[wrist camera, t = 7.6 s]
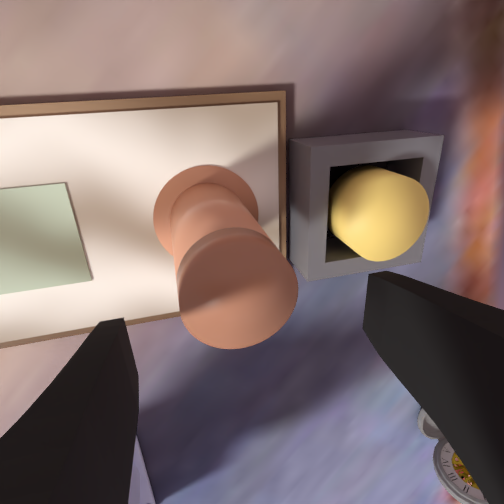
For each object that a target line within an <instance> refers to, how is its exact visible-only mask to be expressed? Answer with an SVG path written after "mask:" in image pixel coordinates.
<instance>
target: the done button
mask: <svg viewBox="0 0 504 504" xmlns="http://www.w3.org/2000/svg"><path fill="white" fill-rule="evenodd" d="M428 216H429V199H428V196H427V193H426V191H425V189H424V188H423V186H422V185H421V184H420V183H419V182H417V181H416V180H414V179H412V178H410V177H407V176H404V175H401V174H398V173H395V172H392V171H389V170H386V169H383V168H380V167H376V166H373V165H362V166H357V167H354V168H352V169H350V170H348V171H346V172H345V173H344V174H342V175H341V176H340V177H339V178H338V179H337V180H336V181H335V182H334V184H333V185H332V186H331V188H330V190H329V198H328V217H327V227H328V228H329V230H330V231H331V232H332V233H333V234H334V235H335V236H336V237H337V238H339V239H340V240H341V241H342V242H344V243H345V244H346V245H347V246H349V247H350V248H351V249H353V250H354V251H355V252H356V253H358V254H359V255H360V256H361V257H363V258H365V259H367V260H370V261H386V260H390V259H393V258H395V257H397V256H399V255H401V254H403V253H404V252H406V251H407V250H408V249H409V248H410V247H411V246H412V245H413V244H414V243H415V242H416V241H417V240H418V238H419V237H420V235H421V234H422V232H423V230H424V228H425V226H426V223H427V220H428Z"/></svg>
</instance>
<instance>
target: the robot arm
mask: <svg viewBox="0 0 504 504" xmlns="http://www.w3.org/2000/svg"><path fill="white" fill-rule="evenodd" d="M363 330H364V331H365V333H366V335H367V336H368V338H369V340H370V342H371V343H372V345H373V346H374V348H375V349H376V351H377V353H378V354H379V356H380V357H381V358H382V359H383V361H384V362H385V363H386V364H387V366H388V367H389V368H390V369H391V371H392V372H393V373H394V374H395V376H396V377H397V378H398V379H399V380H400V382H401V383H402V384H403V385H404V386H405V388H406V389H407V390H408V391H409V392H410V394H411V395H412V396H413V397H414V398H415V400H416V401H417V402H418V403H419V404H420V406H421V407H422V408H423V409H424V411H425V412H426V413H427V414H428V415H429V417H430V418H431V419H432V420H433V422H434V423H435V424H436V426H437V427H438V428H439V430H440V431H441V432H442V434H443V435H444V437H445V438H446V439H447V441H448V442H449V444H450V445H451V447H452V448H453V450H454V451H455V453H456V454H457V456H458V457H459V459H460V460H461V461H462V463H463V464H464V466H465V467H466V469H467V471H468V472H469V474H470V475H471V477H472V478H473V480H474V481H475V483H476V485H477V486H478V488H479V489H480V491H481V492H482V494H483V495H484V497H485V499H486V500H487V502H488V503H489V504H504V310H501V309H498V308H495V307H492V306H489V305H486V304H483V303H480V302H477V301H474V300H471V299H468V298H465V297H462V296H459V295H456V294H454V293H451V292H448V291H445V290H443V289H440V288H437V287H434V286H432V285H429V284H426V283H423V282H420V281H418V280H415V279H412V278H409V277H406V276H403V275H400V274H397V273H393V272H389V271H383V272H377V273H372V274H369V276H368V285H367V294H366V302H365V311H364V320H363ZM138 412H139V383H138V372H137V368H136V364H135V360H134V356H133V352H132V348H131V344H130V340H129V336H128V332H127V328H126V324H125V320H124V317H123V318H117V319H112V320H106V321H100V322H99V323H98V324H97V325H96V327H95V328H94V329H93V330H92V332H91V333H90V334H89V336H88V337H87V338H86V339H85V341H84V342H83V343H82V345H81V346H80V347H79V349H78V350H77V351H76V353H75V354H74V355H73V356H72V358H71V359H70V360H69V361H68V363H67V364H66V365H65V366H64V368H63V369H62V370H61V371H60V373H59V374H58V375H57V376H56V378H55V379H54V380H53V381H52V383H51V384H50V385H49V386H48V387H47V388H46V389H45V391H44V392H43V393H42V394H41V395H40V396H39V397H38V399H37V400H36V401H35V402H34V403H33V404H32V405H31V406H30V408H29V409H28V410H27V411H26V412H25V413H24V414H23V415H22V417H21V418H20V419H19V420H18V421H17V422H16V423H15V424H14V425H13V426H12V427H11V428H10V429H9V430H8V431H7V432H6V433H5V434H4V435H3V436H2V437H1V438H0V504H156V503H155V499H154V496H153V492H152V488H151V485H150V481H149V478H148V474H147V471H146V467H145V463H144V460H143V456H142V453H141V449H140V446H139V442H138V438H137V435H136V431H137V422H138Z"/></svg>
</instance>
